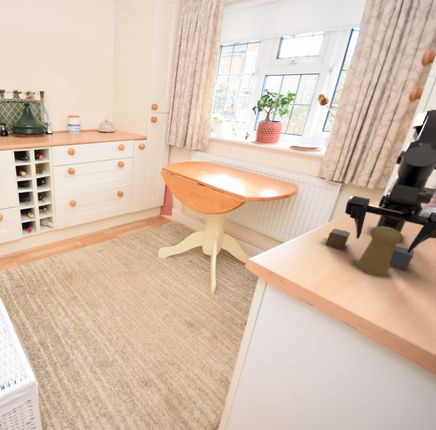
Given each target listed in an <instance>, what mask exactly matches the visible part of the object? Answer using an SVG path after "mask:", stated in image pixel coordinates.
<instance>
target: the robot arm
mask: <svg viewBox="0 0 436 430" xmlns="http://www.w3.org/2000/svg"><path fill="white" fill-rule="evenodd" d="M412 130H414V132H413V135H412V138H413V141H412V142H409V143H408V145H407V146H406V148H405V150H401V151H400V153H399V154H398V156H397V159H396V161H395V165H399V166H398V168H397V173H396V174H395V176H394V179H393V181H392V184H391V186H390V187H389V189H388V190H387V193H386V194H384V195H383V194H382V197H381V199H380V201H379V203H378V205H374V204H370V201H371V198H367V197H364V196H363V197H362V196H357V195H351V196H349V198H348V200H347V202H346V205H345V211H344V214H346V215H349V218H351V219H353V220H354V224H355V231H356V233H355V236H356V240H359V239H360V237H361V234H362V231H363V227H364V223H365V219H366V214H373V215H376V216H377V215H378V216H379V219H378V222H377V223H376V226H374V227H373V229H374V228H376V227H379V226H385V227H390V228H393V229H396V230H398V231H399V232H400V233H401V234H402V231H403V228H404V226H405V224H406V223H409V224H410V223H411V224H415V225H420V226H422V227H421V228H420V230H419V231H418V233H417V235H416V237H414V239H413V241H411V244H410V246H409V247H408V248H407V249H408V251H407V253H410V252H411V251H412V250H414V251H415V249H416V248H417V247H419V246H420V245H421V244H422V243H424V242H425V241H427V240H428V239H436V212H434V211H431V212H430V214H429V216H423V215H421V213H422V211H423V210H424V209H423V207H422V204H425V205H429V204H430V202H431V200H432V199H433V196H434V194H435V191H436V189H435V188H431V187H426V185H427V183H428V180H429V178H430V176H431V175H432V174H433V171H434V170H435V171H436V109H430V110H427V111H426V112H422V113H418V114H417V116H416V119H415V121H414V123H413V126H412Z"/></svg>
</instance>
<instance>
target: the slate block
mask: <svg viewBox="0 0 436 430" xmlns="http://www.w3.org/2000/svg"><path fill="white" fill-rule="evenodd" d="M407 251H408V248H406V247H403V246H399V245H397V244H395V246H394V250H393V254H392V258H391V262H390V266H392V267H395V268H399V269H402V270H405V271H406V270H407V269H408V268H409V265H410V263H411V261H412V259H413V258H414V254H415V249H414V250H412V251H411V252H410V253H407Z"/></svg>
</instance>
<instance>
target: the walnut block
mask: <svg viewBox="0 0 436 430" xmlns="http://www.w3.org/2000/svg"><path fill="white" fill-rule="evenodd" d="M350 235H351V232H350V231H346V230H342V229H338V228H335V227H333V228H332V229H331V231H330V232H329V234H328V237H327V239H326V243H325V245H327V246H328V247H329V246H330V247H331V248H336V249H338V250H344V248H345V247H346V246H347V243H348V240H349V238H350Z"/></svg>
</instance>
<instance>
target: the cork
mask: <svg viewBox="0 0 436 430" xmlns="http://www.w3.org/2000/svg"><path fill="white" fill-rule="evenodd" d="M375 227H376V226H375ZM370 235H371V240H370V242H368V245H367V246H366V247H365V249H364V251H363V253H362V254H361V255H360V257H359V258H358V260H357V262H356V264H355V266H356V268H358V269H359V270H361V271H363V272H365V273H367V274H370V275H373V276H379V277H386V276H387V275H388V273H389V270H390V266H391V265H390V262H391V258H392V254H393V250H394V246H395V245H398V244H399V243H400V242H401V240H402V238H403V235H402V232H401V233H400V232H399V231H398V230H396V229H393V228H390V227H385V226H379V227H376V228H374V227H373V229H372V231H371V233H370Z"/></svg>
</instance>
